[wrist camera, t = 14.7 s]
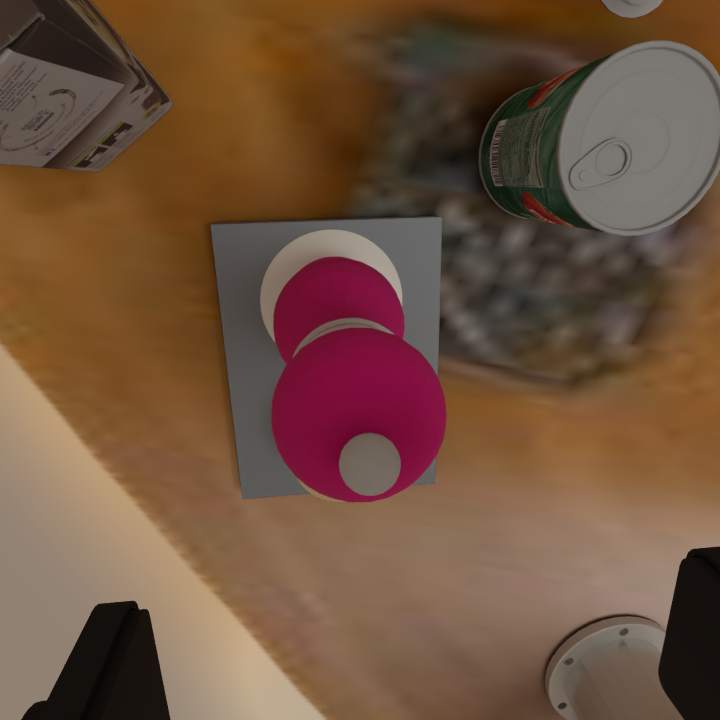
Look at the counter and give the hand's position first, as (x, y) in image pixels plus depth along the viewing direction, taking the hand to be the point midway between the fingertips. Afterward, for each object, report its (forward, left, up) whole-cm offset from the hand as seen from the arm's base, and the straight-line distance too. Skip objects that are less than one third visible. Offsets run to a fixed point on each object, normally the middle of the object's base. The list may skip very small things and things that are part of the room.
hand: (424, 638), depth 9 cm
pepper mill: (0, 0, -26) cm, 26 cm away
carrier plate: (-4, 0, -27) cm, 27 cm away
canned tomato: (+9, -13, -27) cm, 32 cm away
